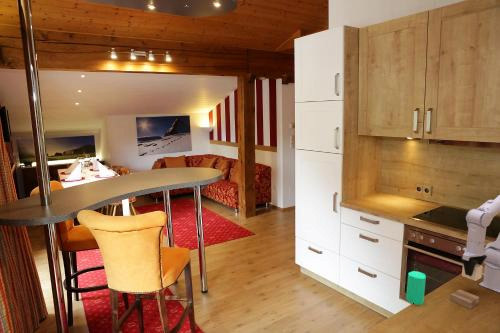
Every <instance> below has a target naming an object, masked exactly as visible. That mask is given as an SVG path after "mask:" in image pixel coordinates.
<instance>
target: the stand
mask: <svg viewBox="0 0 500 333" xmlns="http://www.w3.org/2000/svg"><path fill="white" fill-rule="evenodd" d="M449 301H450V302H453V303H456V304H457V305H460V306H462V307H464V308H467V309H469V310H470V309H472V308H474V307H475V306H478V304H479V303H480V297H479V296H477V295H475V294H473V293H470V292H467V291H466V290H463V289H458V290H456V291H454V292H453V293H451V294H450V299H449Z"/></svg>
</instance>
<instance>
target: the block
mask: <svg viewBox="0 0 500 333" xmlns="http://www.w3.org/2000/svg"><path fill="white" fill-rule="evenodd" d="M483 267H484V266H483V265H479V264H476V265H475V268H474V271H473V274H472V276H469V275H466V274H465V269H464V265H463V264H462V270H461V271H462V272H461V276H462V277H464V278H467V279H469V280H472V281H475V282H477V281H478V280H480V279H482V276H483V275H482V274H483Z"/></svg>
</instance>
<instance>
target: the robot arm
mask: <svg viewBox="0 0 500 333" xmlns="http://www.w3.org/2000/svg"><path fill="white" fill-rule="evenodd" d="M495 197H496V198H494V199H488V200H487V201H485V202H484V203H482V204H481V205H480V206H479V207H477V208H472V209H470V210H469V211H467V213H466V215H465V220H466V226H467V228H468V229H467V237H466V238H467V239H466V247H462V251H464V253H463V254H462V255H461V256H460V260H461V262H462V266H463V265H464V269H465V274H466V275H469V276H472V274H473V271H474V268H475V265H476V264H479V265H482V264H484V265H485V267H484V272H483V273H484V274H483V281H481V282H480V283H478V285H479V286H481V287H483V288H486V289H489V290H492V291H495V292H497V293H500V233H498V236H497V237H496V240H495V241H491V242H488V243H487V245H486V246H485V241H486V232H487V227H488V226H490V225H491V223H492V220H494V217H496V216H497V215H498V214H500V194H498V195H497V196H495ZM482 266H483V265H482Z"/></svg>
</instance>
